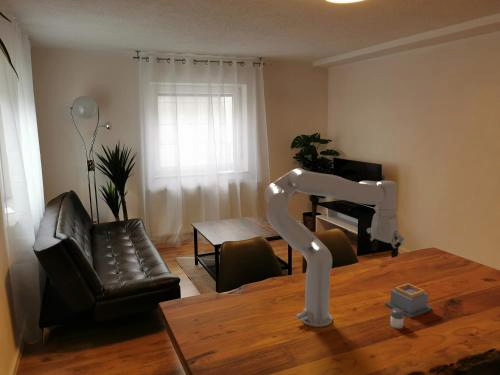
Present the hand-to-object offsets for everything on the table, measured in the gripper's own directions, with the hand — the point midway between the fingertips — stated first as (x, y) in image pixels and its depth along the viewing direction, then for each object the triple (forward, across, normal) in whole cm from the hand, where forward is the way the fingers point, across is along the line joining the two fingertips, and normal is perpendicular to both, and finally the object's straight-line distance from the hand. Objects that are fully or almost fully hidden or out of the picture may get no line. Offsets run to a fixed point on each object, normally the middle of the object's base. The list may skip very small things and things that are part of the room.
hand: (384, 253), depth 157 cm
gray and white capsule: (+27, +8, -2) cm, 28 cm away
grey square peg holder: (+27, +2, +14) cm, 31 cm away
